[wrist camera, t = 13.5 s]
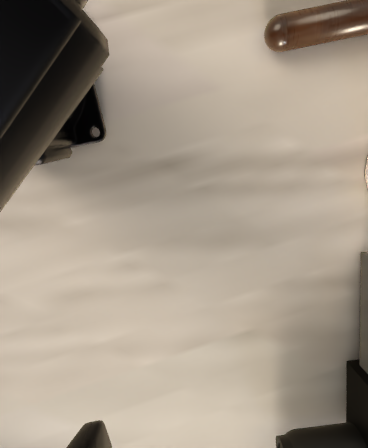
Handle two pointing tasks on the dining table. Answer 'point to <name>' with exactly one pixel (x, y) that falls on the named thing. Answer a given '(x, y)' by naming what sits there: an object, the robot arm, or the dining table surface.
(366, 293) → the door handle
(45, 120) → the robot arm
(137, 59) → the dining table surface
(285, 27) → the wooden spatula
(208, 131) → the dining table surface
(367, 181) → the white cup
